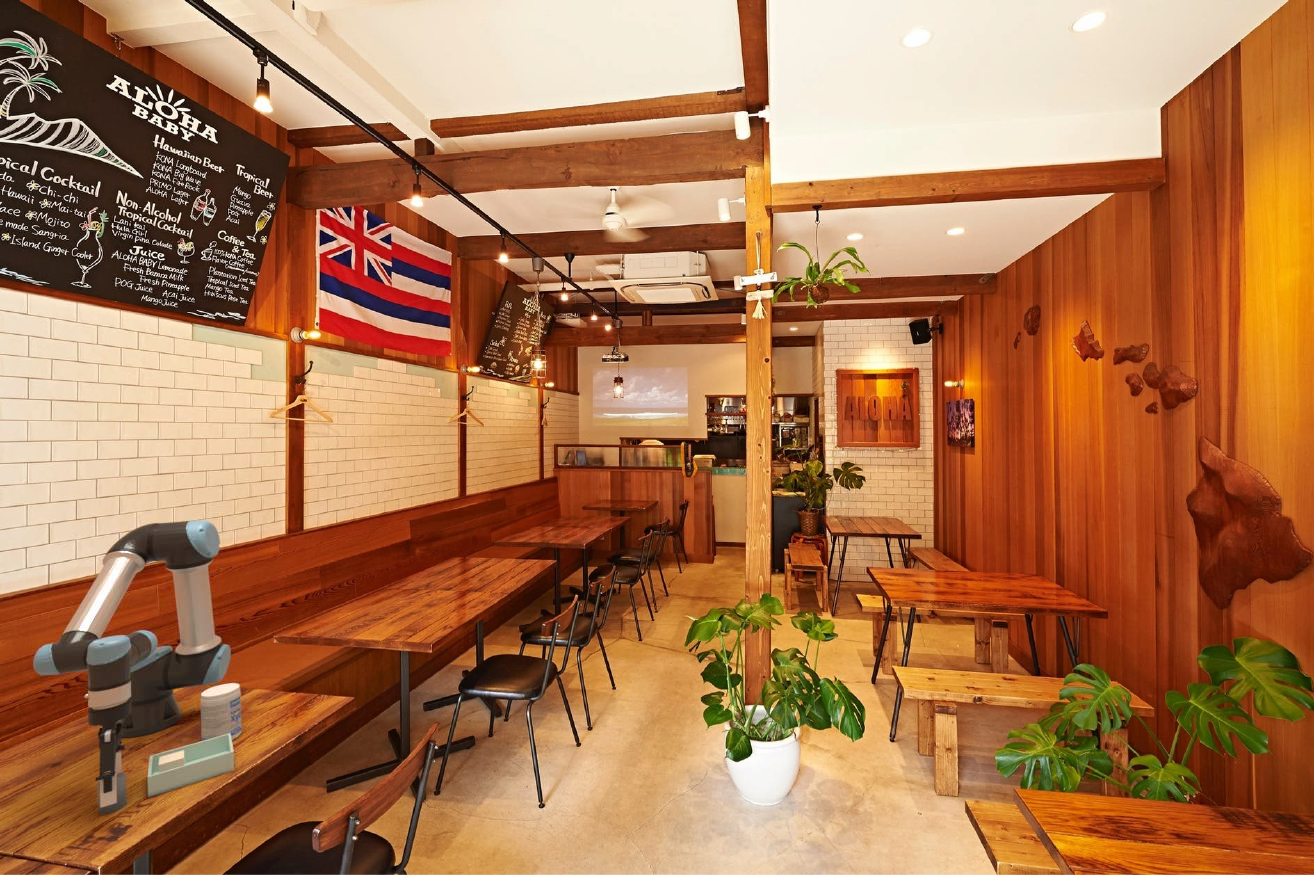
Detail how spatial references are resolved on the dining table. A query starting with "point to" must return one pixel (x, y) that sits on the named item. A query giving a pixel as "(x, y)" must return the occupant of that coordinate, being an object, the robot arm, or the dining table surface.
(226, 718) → the supplement tub
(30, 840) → the dining table surface
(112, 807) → the charcoal cylinder
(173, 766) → the tan cube
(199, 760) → the teal tote
